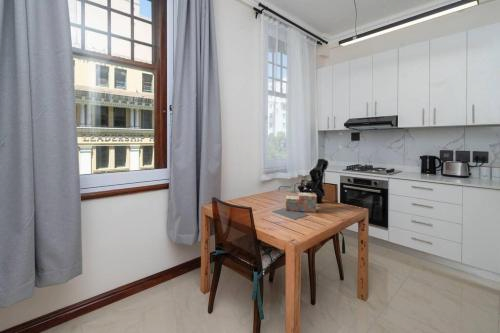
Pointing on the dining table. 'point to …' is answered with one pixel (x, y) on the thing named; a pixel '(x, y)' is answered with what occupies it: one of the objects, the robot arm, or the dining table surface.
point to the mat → (290, 213)
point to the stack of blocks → (302, 202)
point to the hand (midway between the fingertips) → (303, 199)
